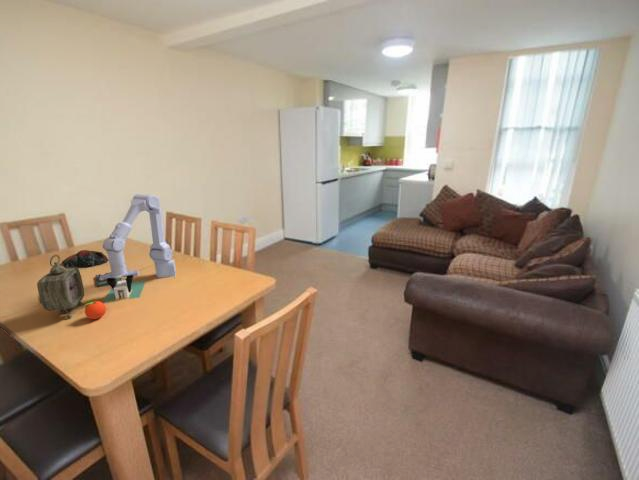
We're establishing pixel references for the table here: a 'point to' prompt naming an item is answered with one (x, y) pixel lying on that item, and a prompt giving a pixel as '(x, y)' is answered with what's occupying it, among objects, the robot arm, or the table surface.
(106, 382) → the table surface
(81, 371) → the table surface
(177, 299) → the table surface
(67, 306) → the tabletop clock
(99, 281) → the disk drive
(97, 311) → the clementine
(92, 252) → the drone shell
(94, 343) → the table surface
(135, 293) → the pin board
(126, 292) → the block
